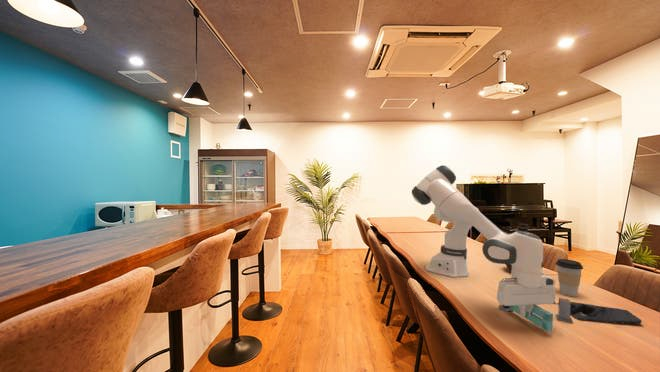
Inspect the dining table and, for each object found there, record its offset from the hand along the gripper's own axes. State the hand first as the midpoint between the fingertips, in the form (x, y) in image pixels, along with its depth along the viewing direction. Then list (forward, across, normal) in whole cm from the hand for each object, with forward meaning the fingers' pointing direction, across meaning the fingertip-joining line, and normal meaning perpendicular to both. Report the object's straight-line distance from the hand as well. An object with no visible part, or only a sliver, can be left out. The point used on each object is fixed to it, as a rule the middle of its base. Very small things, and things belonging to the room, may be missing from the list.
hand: (524, 315), depth 93 cm
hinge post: (+4, +3, +12) cm, 13 cm away
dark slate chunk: (+4, +36, +4) cm, 36 cm away
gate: (+2, +3, +1) cm, 4 cm away
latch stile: (+3, +19, +2) cm, 19 cm away
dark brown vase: (+3, +46, +49) cm, 67 cm away
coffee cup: (+3, +44, +22) cm, 49 cm away
